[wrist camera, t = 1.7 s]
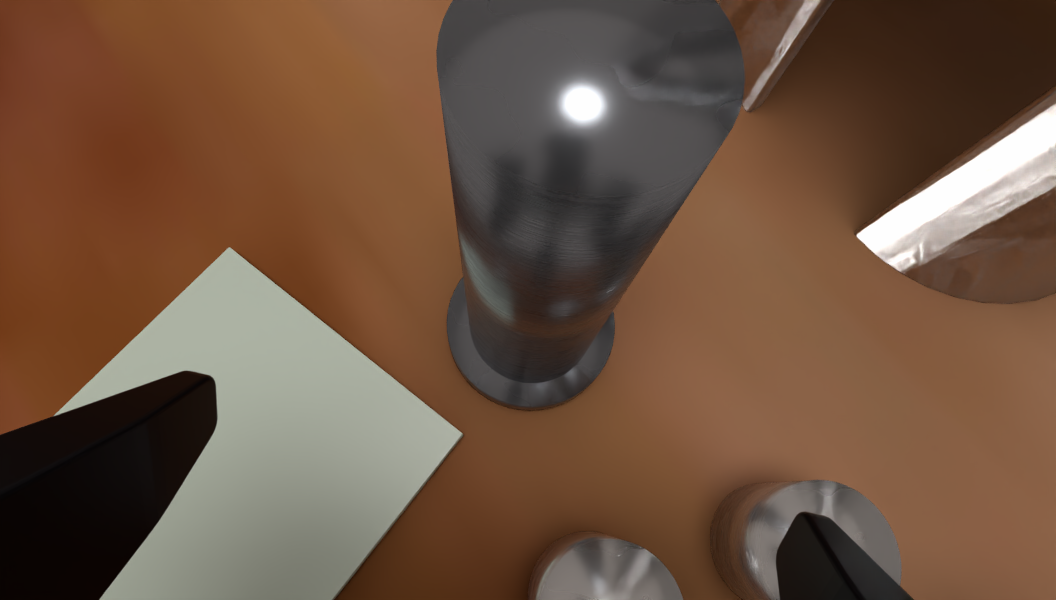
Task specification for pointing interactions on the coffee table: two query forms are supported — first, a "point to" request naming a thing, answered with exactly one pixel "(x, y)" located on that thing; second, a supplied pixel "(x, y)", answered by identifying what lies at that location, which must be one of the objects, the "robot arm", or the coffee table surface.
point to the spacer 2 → (765, 516)
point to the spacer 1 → (600, 571)
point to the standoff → (570, 171)
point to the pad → (272, 447)
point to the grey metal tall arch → (940, 181)
